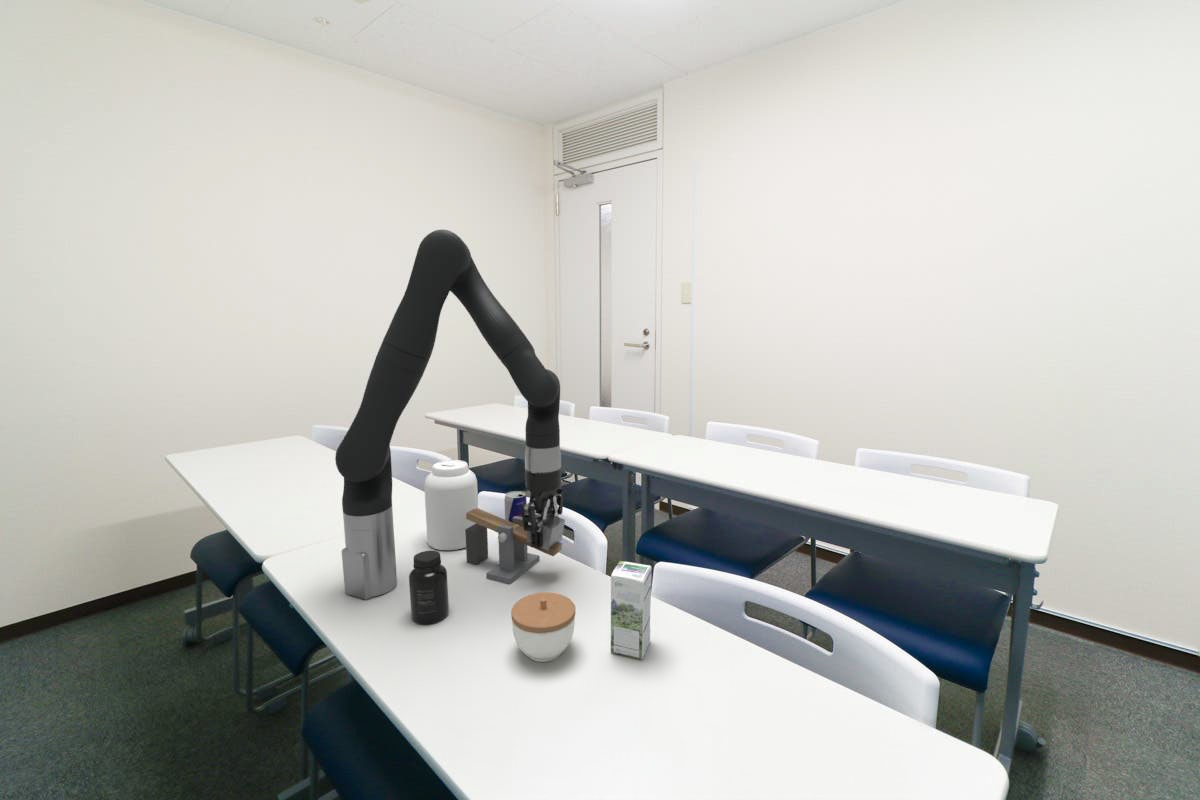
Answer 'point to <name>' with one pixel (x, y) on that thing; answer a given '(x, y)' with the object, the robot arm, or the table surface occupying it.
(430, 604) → the supplement bottle
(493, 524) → the beam
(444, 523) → the white protein powder tub
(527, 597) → the lidded jar
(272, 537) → the table surface
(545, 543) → the block
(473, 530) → the stand
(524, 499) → the energy drink
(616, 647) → the syrup box
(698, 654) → the table surface
